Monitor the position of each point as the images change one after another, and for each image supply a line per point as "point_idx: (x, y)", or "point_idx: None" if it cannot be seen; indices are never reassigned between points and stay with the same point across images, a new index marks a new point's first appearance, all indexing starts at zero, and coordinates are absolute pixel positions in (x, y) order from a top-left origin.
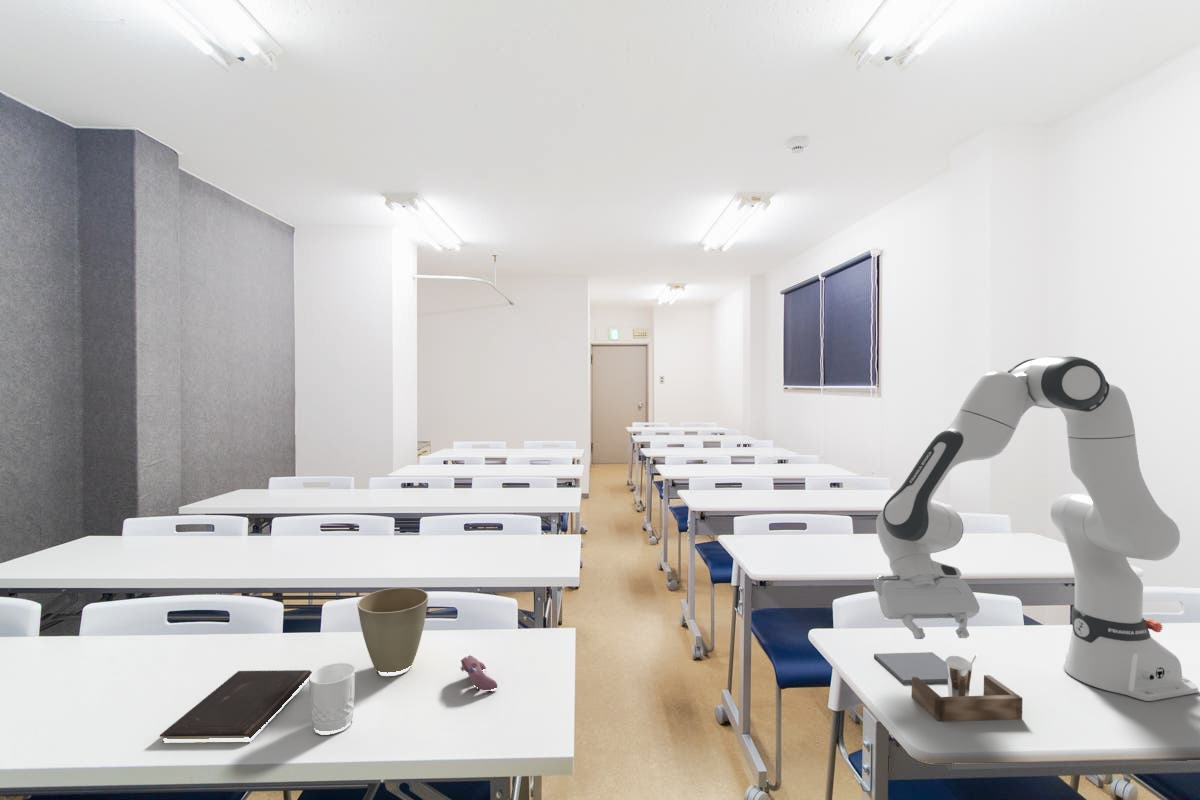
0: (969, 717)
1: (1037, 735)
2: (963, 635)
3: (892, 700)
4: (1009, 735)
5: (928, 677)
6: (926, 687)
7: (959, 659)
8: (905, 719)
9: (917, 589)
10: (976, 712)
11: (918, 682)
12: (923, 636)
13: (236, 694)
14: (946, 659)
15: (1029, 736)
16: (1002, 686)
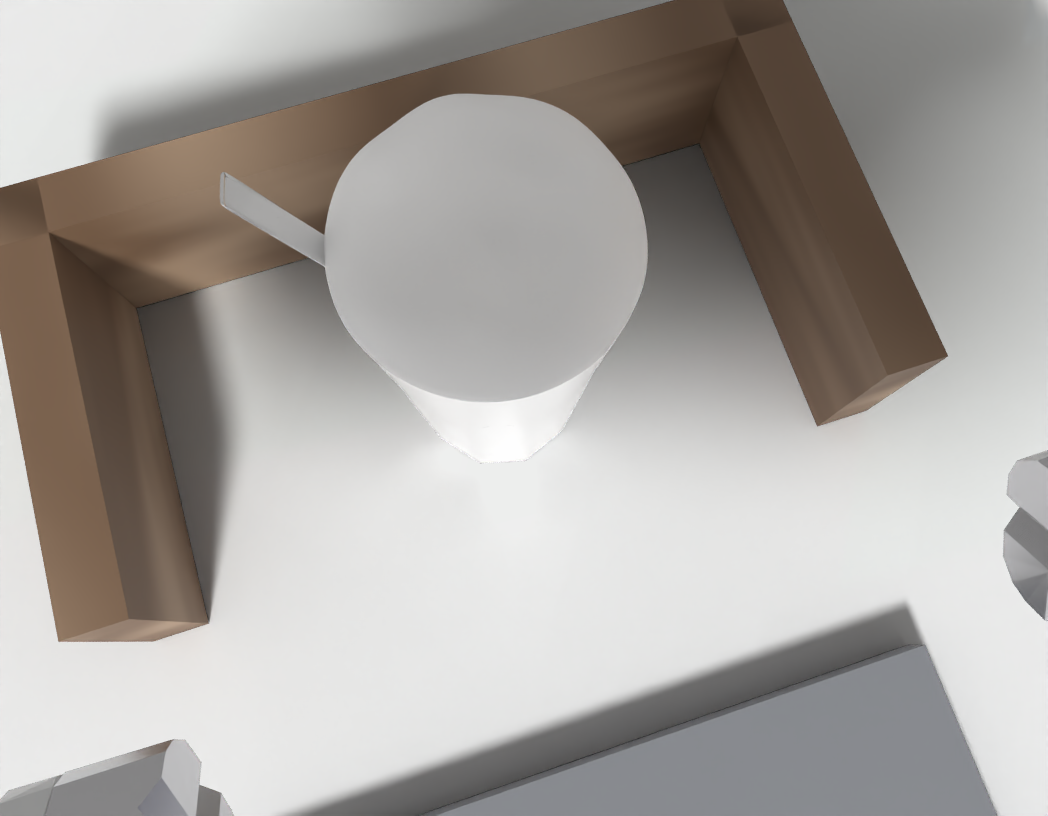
0: None
1: (84, 83)
2: (153, 746)
3: (1028, 307)
4: (284, 38)
5: (661, 781)
6: (834, 176)
7: (481, 188)
8: (955, 62)
9: None
10: None
11: (895, 257)
12: (1046, 451)
13: None
14: (636, 262)
15: (149, 58)
16: (50, 387)
